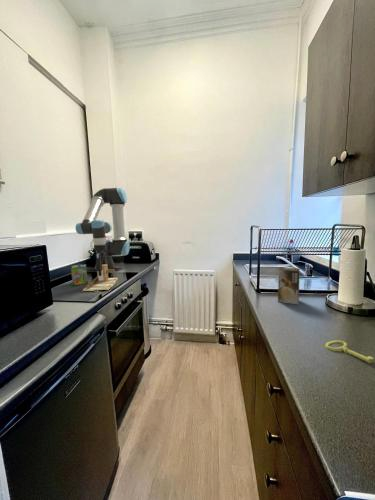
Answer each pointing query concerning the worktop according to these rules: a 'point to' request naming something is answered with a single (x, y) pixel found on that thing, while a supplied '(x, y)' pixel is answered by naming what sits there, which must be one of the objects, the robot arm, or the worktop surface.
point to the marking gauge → (105, 272)
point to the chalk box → (79, 274)
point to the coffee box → (288, 285)
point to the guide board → (100, 284)
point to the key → (347, 350)
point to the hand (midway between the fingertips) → (103, 278)
